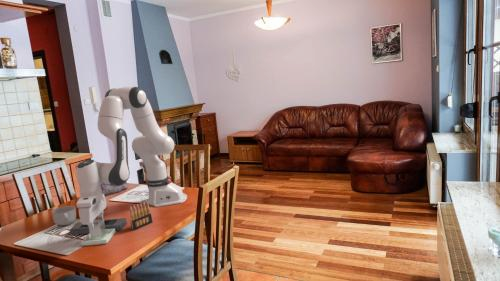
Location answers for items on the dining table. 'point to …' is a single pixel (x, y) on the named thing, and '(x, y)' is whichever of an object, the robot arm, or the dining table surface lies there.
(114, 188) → the geode
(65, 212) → the teacup
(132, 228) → the ammunition clip
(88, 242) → the tray
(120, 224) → the rail
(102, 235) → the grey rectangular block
